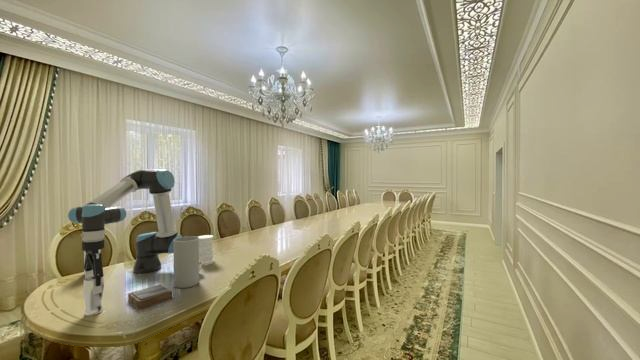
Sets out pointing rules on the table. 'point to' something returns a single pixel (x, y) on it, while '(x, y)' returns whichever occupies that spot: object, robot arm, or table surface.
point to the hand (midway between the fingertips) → (93, 289)
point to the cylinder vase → (186, 261)
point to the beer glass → (92, 297)
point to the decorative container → (206, 249)
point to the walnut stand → (149, 296)
